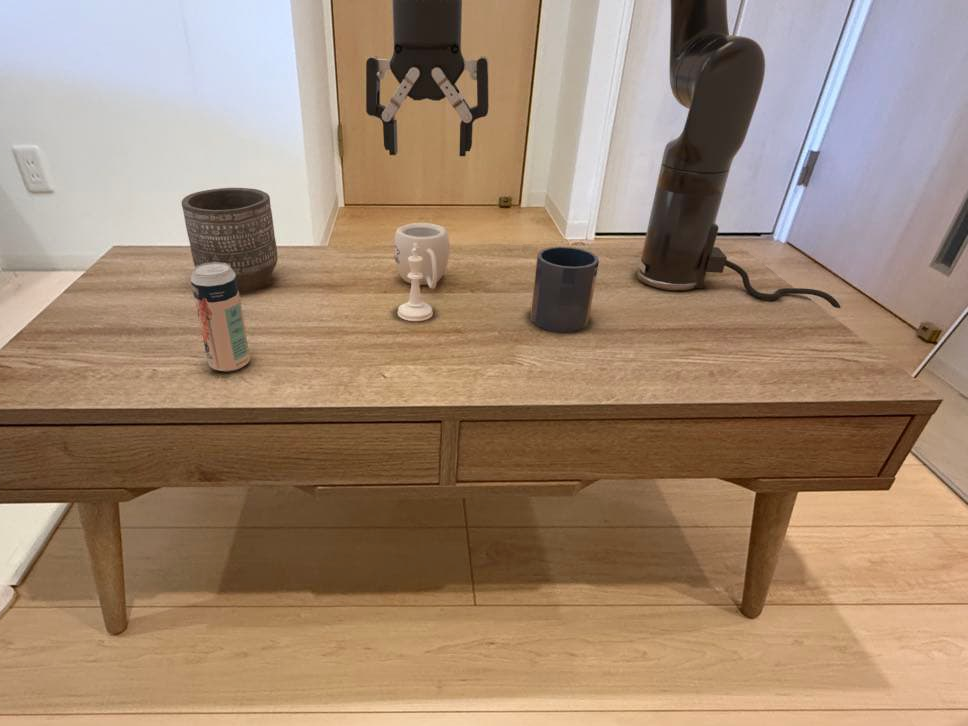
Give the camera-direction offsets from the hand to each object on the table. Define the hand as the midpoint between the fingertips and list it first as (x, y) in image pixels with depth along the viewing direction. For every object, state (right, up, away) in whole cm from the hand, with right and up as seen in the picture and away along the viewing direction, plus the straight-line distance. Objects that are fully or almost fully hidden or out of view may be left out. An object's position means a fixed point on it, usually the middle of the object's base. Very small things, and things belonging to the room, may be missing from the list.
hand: (427, 154), depth 75 cm
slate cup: (+18, -19, +10) cm, 28 cm away
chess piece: (-2, -18, +11) cm, 21 cm away
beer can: (-24, -26, -1) cm, 35 cm away
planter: (-29, -12, +19) cm, 37 cm away
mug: (-1, -12, +20) cm, 23 cm away
